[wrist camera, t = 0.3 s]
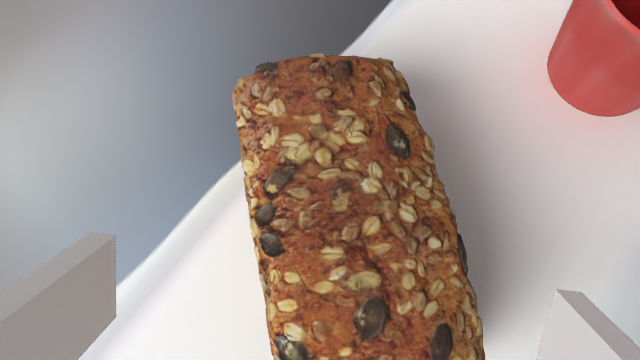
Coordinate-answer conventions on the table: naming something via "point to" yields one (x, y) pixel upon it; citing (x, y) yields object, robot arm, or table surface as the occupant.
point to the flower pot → (598, 57)
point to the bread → (351, 216)
